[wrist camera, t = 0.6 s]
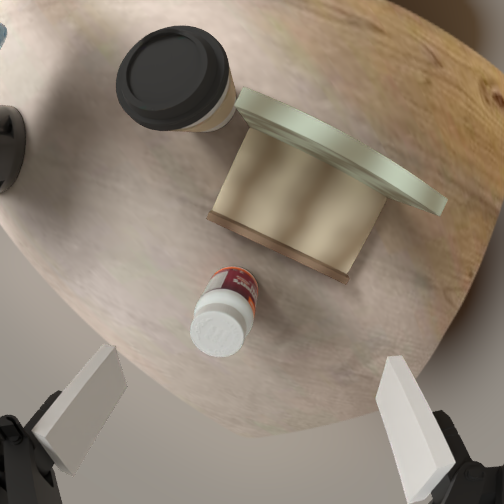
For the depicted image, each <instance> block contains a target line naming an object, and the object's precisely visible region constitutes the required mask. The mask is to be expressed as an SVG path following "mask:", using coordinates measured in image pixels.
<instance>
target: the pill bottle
mask: <svg viewBox="0 0 504 504" xmlns="http://www.w3.org/2000/svg"><path fill="white" fill-rule="evenodd" d="M257 298H258V285H257V282H256V280H255V278H254V276H253V275H252V274H251V273H250V272H249V271H247V270H246V269H244V268H241V267H237V266H228V267H224V268H222V269H220V270H218V271H217V272H216V273H215V274H214V275H213V277H212V278H211V280H210V281H209V283H208V285H207V287H206V288H205V290H204V292H203V294H202V295H201V297H200V299H199V300H198V302H197V304H196V307H195V310H194V319H193V321H192V323H191V327H190V335H191V339H192V341H193V343H194V344H195V345H196V347H197V348H198V349H199V350H201V351H202V352H204V353H205V354H208V355H210V356H214V357H227V356H230V355H233V354H235V353H236V352H237V351H239V350H240V348H241V347H242V345H243V343H244V339H245V337H246V336H247V335H248V334H249V332H250V330H251V328H252V325H253V321H254V315H255V310H256V304H257Z"/></svg>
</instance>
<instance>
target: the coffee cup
mask: <svg viewBox="0 0 504 504" xmlns="http://www.w3.org/2000/svg"><path fill="white" fill-rule="evenodd" d="M116 93H117V97H118V100H119V103H120V105H121V106H122V108H123V109H124V111H125V112H126V113H127V114H128V115H129V116H130V117H131V118H132V119H133V120H134V121H136V122H137V123H138V124H140V125H142V126H144V127H146V128H149V129H152V130H158V131H184V132H210V131H215V130H217V129H219V128H221V127H223V126H224V125H226V124H227V123H228V122H229V121H230V120H231V118H232V117H233V115H234V113H235V110H236V107H235V106H234V104H235V102H236V92H235V86H234V82H233V79H232V75H231V71H230V67H229V63H228V58H227V55H226V52H225V50H224V49H223V47H222V45H221V44H220V43H219V42H218V41H217V40H216V39H215V38H214V37H213V36H212V35H211V34H209V33H208V32H206V31H204V30H202V29H199V28H196V27H191V26H172V27H167V28H163V29H160V30H157V31H155V32H152V33H150V34H148V35H147V36H145V37H144V38H143V39H141V40H140V41H139V42H138V43H137V44H135V45H134V46H133V47H132V49H131V50H130V51H129V52H128V53H127V55H126V56H125V58H124V59H123V61H122V63H121V65H120V68H119V70H118V74H117V79H116Z"/></svg>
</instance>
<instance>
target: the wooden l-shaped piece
mask: <svg viewBox="0 0 504 504" xmlns="http://www.w3.org/2000/svg"><path fill="white" fill-rule="evenodd" d="M234 106H235V107H236V109H237V110H238V111H239V113H240V114H241V115H242V117H243V118H244V120H245V121H246V122H247V124H248V125H249V127H250V128H249V130H248V132H247V134H246V136H245V138H244V140H243V142H242V144H241V147H240V149H239V151H238V153H237V155H236V157H235V159H234V162H233V164H232V166H231V168H230V170H229V173H228V175H227V177H226V179H225V181H224V184H223V186H222V188H221V190H220V193H219V195H218V197H217V200H216V202H215V204H214V206H213V209H212V210H211V211H210V212H209V213H208V216H207V218H206V219H207V220H209V221H212V222H214V223H216V224H218V225H220V226H222V227H225V228H227V229H229V230H231V231H233V232H235V233H237V234H240V235H242V236H244V237H246V238H248V239H250V240H252V241H255V242H257V243H259V244H261V245H263V246H265V247H267V248H270V249H272V250H274V251H276V252H278V253H280V254H282V255H284V256H287V257H289V258H291V259H293V260H295V261H297V262H299V263H301V264H303V265H306V266H308V267H310V268H312V269H314V270H316V271H318V272H320V273H322V274H324V275H327V276H329V277H331V278H333V279H335V280H337V281H339V282H341V283H343V284H345V285H346V284H347V283H348V281H349V279H350V278H349V277H348V275H347V273H348V271H349V270H350V268H351V266H352V264H353V263H354V261H355V259H356V257H357V255H358V254H359V252H360V250H361V248H362V246H363V245H364V243H365V241H366V239H367V237H368V235H369V233H370V231H371V230H372V228H373V226H374V224H375V222H376V220H377V218H378V216H379V214H380V212H381V210H382V208H383V206H384V204H385V202H386V200H387V198H390V199H393V200H396V201H399V202H402V203H405V204H407V205H410V206H413V207H416V208H419V209H421V210H424V211H427V212H429V213H432V214H435V215H437V216H440V215H441V213H442V211H443V209H444V207H445V204H446V202H447V200H448V199H447V198H445V197H444V196H443V195H441V194H440V193H438V192H437V191H436V190H434V189H433V188H432V187H430V186H429V185H427V184H426V183H424V182H423V181H422V180H420V179H419V178H417V177H416V176H414V175H413V174H411V173H410V172H408V171H407V170H405V169H404V168H402V167H401V166H399V165H398V164H396V163H394V162H393V161H391V160H390V159H388V158H386V157H385V156H383V155H382V154H380V153H378V152H377V151H375V150H373V149H372V148H370V147H368V146H366V145H365V144H363V143H361V142H360V141H358V140H356V139H354V138H352V137H351V136H349V135H347V134H345V133H343V132H341V131H340V130H338V129H336V128H334V127H332V126H330V125H328V124H326V123H324V122H322V121H320V120H318V119H316V118H314V117H312V116H310V115H308V114H306V113H304V112H302V111H300V110H297V109H295V108H293V107H291V106H289V105H287V104H284V103H282V102H280V101H277V100H275V99H273V98H270V97H268V96H266V95H263V94H261V93H258V92H256V91H253V90H251V89H248V88H246V87H243V88H242V90H241V92H240V94H239V96H238V98H237V100H236V102H235V104H234Z"/></svg>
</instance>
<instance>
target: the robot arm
mask: <svg viewBox="0 0 504 504" xmlns="http://www.w3.org/2000/svg"><path fill="white" fill-rule="evenodd" d="M6 37H7V29H6V27H5V26H4V25H3V24H2V23H0V49H1V47H2V45H3V43H4V41H5V40H6ZM24 150H25V129H24V123H23V120H22V117H21V115H20V113H19V111H18V110H17V109H16V108H14V107H12V106H6V105H0V192H3V191H5V190H7V189H8V188H9V187H10V186H11V185H12V184H13V183H14V181H15V179H16V178H17V176H18V173H19V171H20V168H21V165H22V161H23V156H24ZM126 389H127V384H126V381H125V377H124V374H123V371H122V367H121V364H120V360H119V357H118V353H117V350H116V346H112V345H106V344H103V345H102V346H101V347H100V348H99V350H98V351H97V352H96V353H95V354H94V355H93V357H92V358H91V359H90V360H89V361H88V362H87V363H86V365H85V366H84V367H83V368H82V369H81V371H80V372H79V373H78V374H77V375H76V376H75V377H74V379H73V380H72V381H71V382H70V383H69V385H68V386H67V387H66V388H65V389H64V391H63V392H62V391H57V392H55V393H54V394H52V395H50V397H49V398H48V399H47V400H46V401H45V402H44V404H43V405H42V406H41V407H40V410H38V411H37V412H36V413H35V414H34V416H33V417H32V418H31V419H30V421H29V422H28V423H27V424H26V426H25V427H24V428H23V427H22V425H21V424H20V422H19V421H18V419H17V418H16V417H15V416H13V415H5V416H2V417H0V504H62V500H61V497H60V493H59V489H58V486H57V481H56V477H55V473H54V470H53V468H52V466H53V464H54V463H55V464H56V466H57V467H58V468H59V469H60V470H61V471H62V472H65V473H67V474H69V475H71V476H74V475H75V474H76V472H77V470H78V469H79V467H80V465H81V463H82V462H83V460H84V458H85V456H86V455H87V453H88V451H89V450H90V448H91V446H92V445H93V443H94V441H95V439H96V438H97V436H98V434H99V433H100V431H101V429H102V428H103V426H104V424H105V423H106V421H107V419H108V418H109V416H110V414H111V413H112V411H113V410H114V408H115V406H116V405H117V403H118V401H119V400H120V398H121V396H122V395H123V393H124V392H125V390H126ZM375 399H376V402H377V405H378V408H379V411H380V414H381V417H382V419H383V422H384V426H385V429H386V432H387V435H388V438H389V441H390V444H391V447H392V451H393V454H394V457H395V461H396V464H397V467H398V471H399V474H400V478H401V481H402V485H403V489H404V492H405V496H406V500H407V503H408V504H410V503H413V502H417V501H421V500H424V499H426V497H427V496H428V495H429V494H430V493H431V494H432V497H433V499H432V500H431V501H430V502H429V503H428V504H504V465H503V466H499V467H488V468H487V467H484V466H483V465H482V464H481V463H479V462H477V461H472V459H471V458H470V456H469V454H468V452H467V450H466V447H465V446H464V444H463V441H462V439H461V438H460V436H459V435H458V432H457V430H456V428H454V424H453V422H452V420H451V419H450V417H449V416H448V415H447V414H446V413H445V412H443V411H442V410H440V411H435V412H432V411H431V409H430V407H429V405H428V403H427V401H426V399H425V397H424V395H423V393H422V391H421V390H420V388H419V386H418V384H417V382H416V380H415V378H414V376H413V375H412V373H411V371H410V369H409V367H408V366H407V364H406V362H405V360H404V358H403V357H402V355H400V356H389V357H387V360H386V364H385V368H384V371H383V375H382V378H381V382H380V385H379V388H378V391H377V395H376V398H375Z"/></svg>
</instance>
